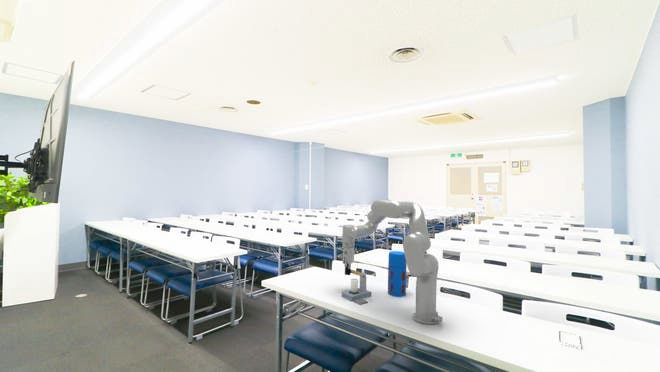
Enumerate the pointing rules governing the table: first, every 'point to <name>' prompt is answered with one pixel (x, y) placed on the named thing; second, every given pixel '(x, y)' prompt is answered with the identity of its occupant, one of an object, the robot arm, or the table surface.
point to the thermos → (397, 274)
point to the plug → (354, 286)
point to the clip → (358, 273)
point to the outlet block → (361, 291)
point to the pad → (360, 301)
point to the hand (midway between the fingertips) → (347, 274)
